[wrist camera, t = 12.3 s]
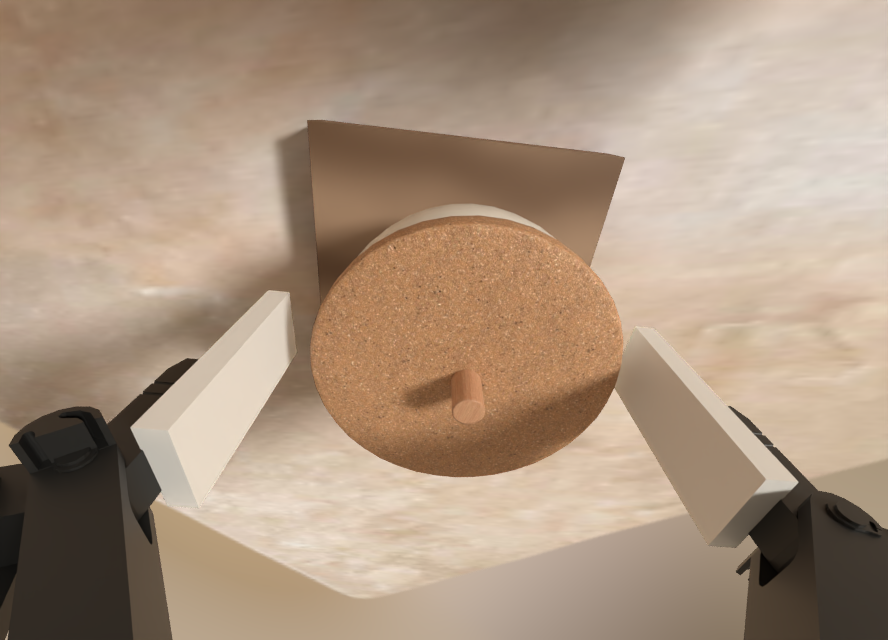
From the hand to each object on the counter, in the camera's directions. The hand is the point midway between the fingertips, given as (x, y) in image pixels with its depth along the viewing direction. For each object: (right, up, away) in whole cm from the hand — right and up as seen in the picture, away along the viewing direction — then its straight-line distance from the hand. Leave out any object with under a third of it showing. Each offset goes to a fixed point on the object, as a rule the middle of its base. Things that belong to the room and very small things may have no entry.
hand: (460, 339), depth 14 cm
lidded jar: (0, +3, +5) cm, 6 cm away
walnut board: (0, +4, +7) cm, 8 cm away
